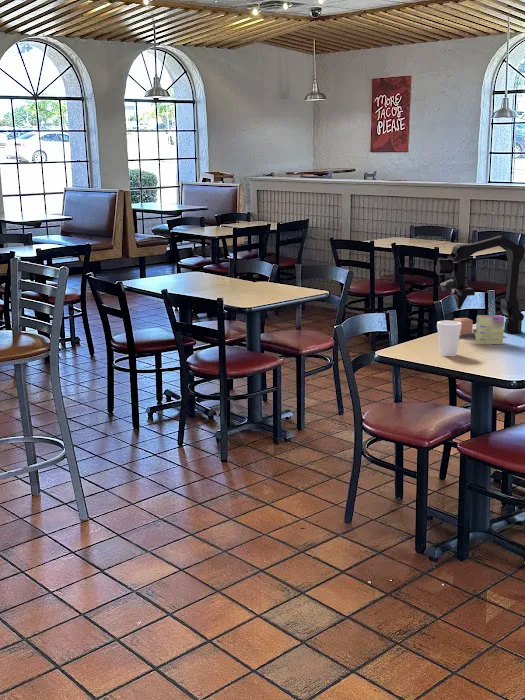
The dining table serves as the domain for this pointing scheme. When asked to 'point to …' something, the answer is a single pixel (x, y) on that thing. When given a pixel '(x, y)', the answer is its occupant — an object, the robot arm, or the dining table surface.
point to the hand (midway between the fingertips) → (458, 308)
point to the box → (489, 329)
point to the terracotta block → (465, 325)
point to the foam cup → (448, 337)
